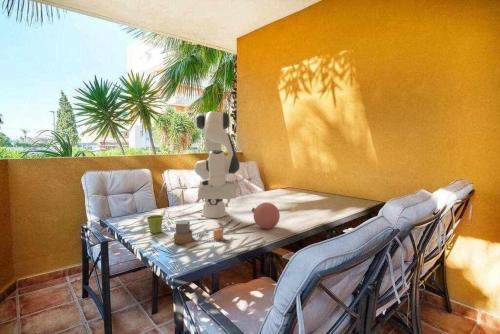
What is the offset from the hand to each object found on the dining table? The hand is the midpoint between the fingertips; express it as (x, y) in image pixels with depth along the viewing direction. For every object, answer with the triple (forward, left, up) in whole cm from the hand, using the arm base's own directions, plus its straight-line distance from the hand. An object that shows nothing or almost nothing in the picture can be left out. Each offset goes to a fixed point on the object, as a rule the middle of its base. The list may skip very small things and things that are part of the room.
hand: (217, 207), depth 153 cm
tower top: (+2, -18, -12) cm, 22 cm away
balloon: (-18, +26, -17) cm, 36 cm away
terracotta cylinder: (0, 0, -17) cm, 17 cm away
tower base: (+2, -18, -17) cm, 25 cm away
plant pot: (-14, -37, -17) cm, 43 cm away
